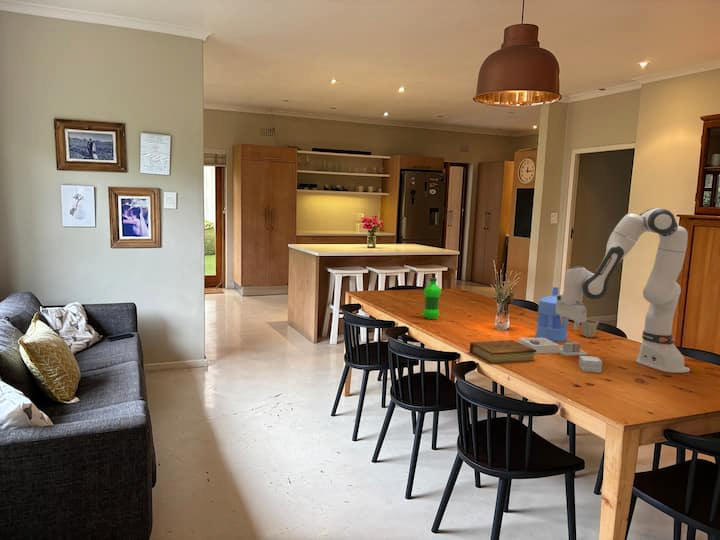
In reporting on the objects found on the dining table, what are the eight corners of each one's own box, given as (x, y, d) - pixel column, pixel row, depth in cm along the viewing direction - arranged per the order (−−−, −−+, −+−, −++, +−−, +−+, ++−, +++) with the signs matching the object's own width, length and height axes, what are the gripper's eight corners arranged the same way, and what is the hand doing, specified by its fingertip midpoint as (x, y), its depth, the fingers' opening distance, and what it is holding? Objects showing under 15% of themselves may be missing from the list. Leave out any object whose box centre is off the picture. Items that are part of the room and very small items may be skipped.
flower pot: (599, 339, 286) (600, 323, 285) (580, 337, 288) (582, 322, 287) (595, 335, 295) (596, 320, 294) (577, 333, 297) (578, 318, 296)
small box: (578, 366, 233) (579, 355, 232) (596, 368, 232) (598, 356, 231) (582, 371, 225) (583, 360, 225) (601, 373, 224) (602, 361, 223)
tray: (588, 356, 250) (588, 353, 250) (564, 356, 247) (564, 353, 247) (571, 348, 264) (571, 345, 263) (547, 348, 261) (547, 346, 261)
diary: (510, 351, 255) (511, 339, 255) (535, 362, 238) (536, 350, 237) (469, 353, 248) (470, 341, 247) (491, 365, 230) (492, 352, 230)
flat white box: (559, 354, 251) (560, 345, 251) (532, 354, 248) (533, 345, 248) (543, 346, 265) (544, 337, 264) (518, 346, 262) (518, 337, 261)
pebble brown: (579, 352, 255) (580, 344, 254) (573, 352, 254) (574, 344, 254) (575, 350, 258) (575, 342, 258) (569, 350, 258) (570, 342, 257)
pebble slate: (572, 352, 254) (573, 344, 254) (566, 352, 253) (567, 344, 253) (568, 350, 258) (569, 342, 257) (562, 350, 257) (563, 342, 256)
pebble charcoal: (539, 349, 255) (539, 341, 254) (533, 349, 254) (533, 341, 253) (535, 347, 258) (535, 339, 258) (529, 347, 257) (529, 340, 257)
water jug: (539, 334, 292) (543, 284, 288) (569, 338, 284) (573, 287, 280) (532, 339, 278) (537, 287, 275) (563, 344, 270) (568, 291, 267)
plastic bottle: (440, 320, 315) (443, 279, 312) (422, 320, 315) (425, 279, 312) (438, 317, 325) (440, 277, 322) (421, 316, 325) (423, 276, 322)
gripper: (591, 304, 243) (588, 333, 245) (565, 295, 263) (562, 322, 265) (579, 303, 242) (576, 332, 243) (554, 295, 261) (551, 322, 263)
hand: (569, 327), depth 254 cm, fingers open, 8 cm apart
